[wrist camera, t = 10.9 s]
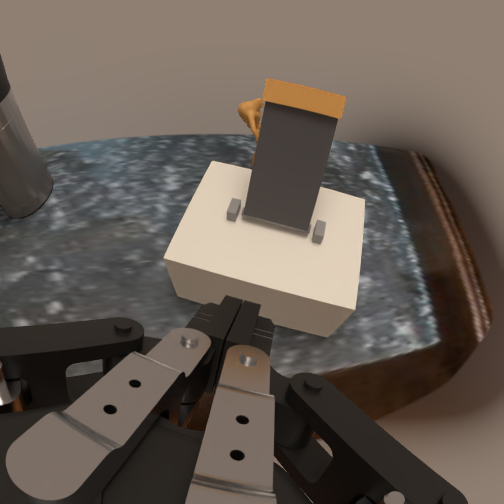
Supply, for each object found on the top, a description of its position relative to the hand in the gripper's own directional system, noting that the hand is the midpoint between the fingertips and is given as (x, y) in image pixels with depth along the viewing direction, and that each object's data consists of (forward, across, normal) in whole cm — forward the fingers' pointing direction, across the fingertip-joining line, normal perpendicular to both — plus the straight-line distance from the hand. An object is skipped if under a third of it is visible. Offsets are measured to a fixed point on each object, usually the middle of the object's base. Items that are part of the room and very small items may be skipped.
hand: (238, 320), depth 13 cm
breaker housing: (+21, 0, +4) cm, 22 cm away
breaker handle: (+15, 0, -2) cm, 15 cm away
